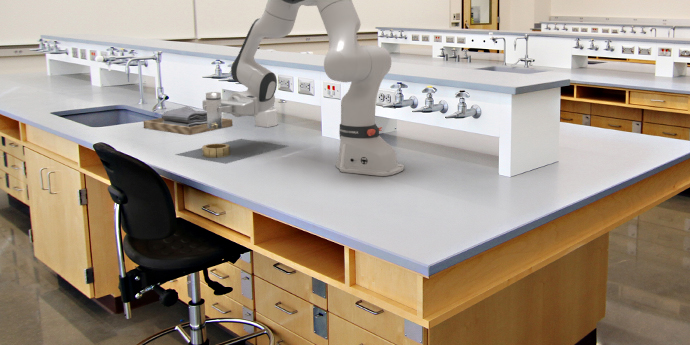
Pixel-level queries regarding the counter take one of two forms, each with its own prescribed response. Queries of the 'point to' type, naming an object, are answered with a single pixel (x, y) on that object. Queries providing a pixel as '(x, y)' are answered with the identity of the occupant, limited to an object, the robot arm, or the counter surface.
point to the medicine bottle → (266, 118)
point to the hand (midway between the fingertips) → (212, 109)
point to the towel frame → (158, 125)
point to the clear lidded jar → (213, 110)
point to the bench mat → (237, 150)
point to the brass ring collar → (216, 150)
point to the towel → (185, 117)
